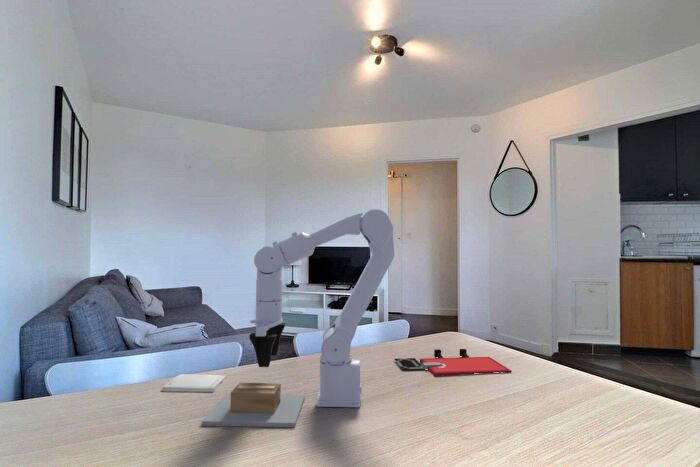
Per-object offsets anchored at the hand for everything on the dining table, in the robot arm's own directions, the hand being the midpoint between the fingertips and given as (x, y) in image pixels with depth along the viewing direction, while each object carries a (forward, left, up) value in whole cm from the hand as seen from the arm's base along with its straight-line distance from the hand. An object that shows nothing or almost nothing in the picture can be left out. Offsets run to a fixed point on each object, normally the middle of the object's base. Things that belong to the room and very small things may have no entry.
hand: (268, 360), depth 76 cm
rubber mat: (+1, +5, -9) cm, 10 cm away
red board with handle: (-47, -24, -10) cm, 54 cm away
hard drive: (+20, -8, -10) cm, 24 cm away
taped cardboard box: (+1, +5, -8) cm, 9 cm away
